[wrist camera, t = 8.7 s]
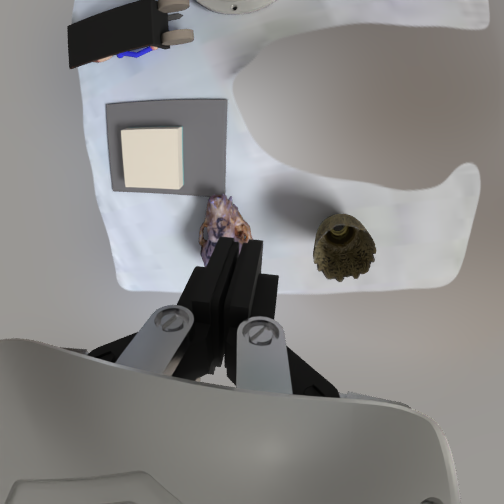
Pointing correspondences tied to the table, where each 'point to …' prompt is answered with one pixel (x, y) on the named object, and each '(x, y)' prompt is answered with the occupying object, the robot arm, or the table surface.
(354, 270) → the cup
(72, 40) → the figurine character
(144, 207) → the table surface
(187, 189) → the mat
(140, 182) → the tile
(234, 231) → the skull
